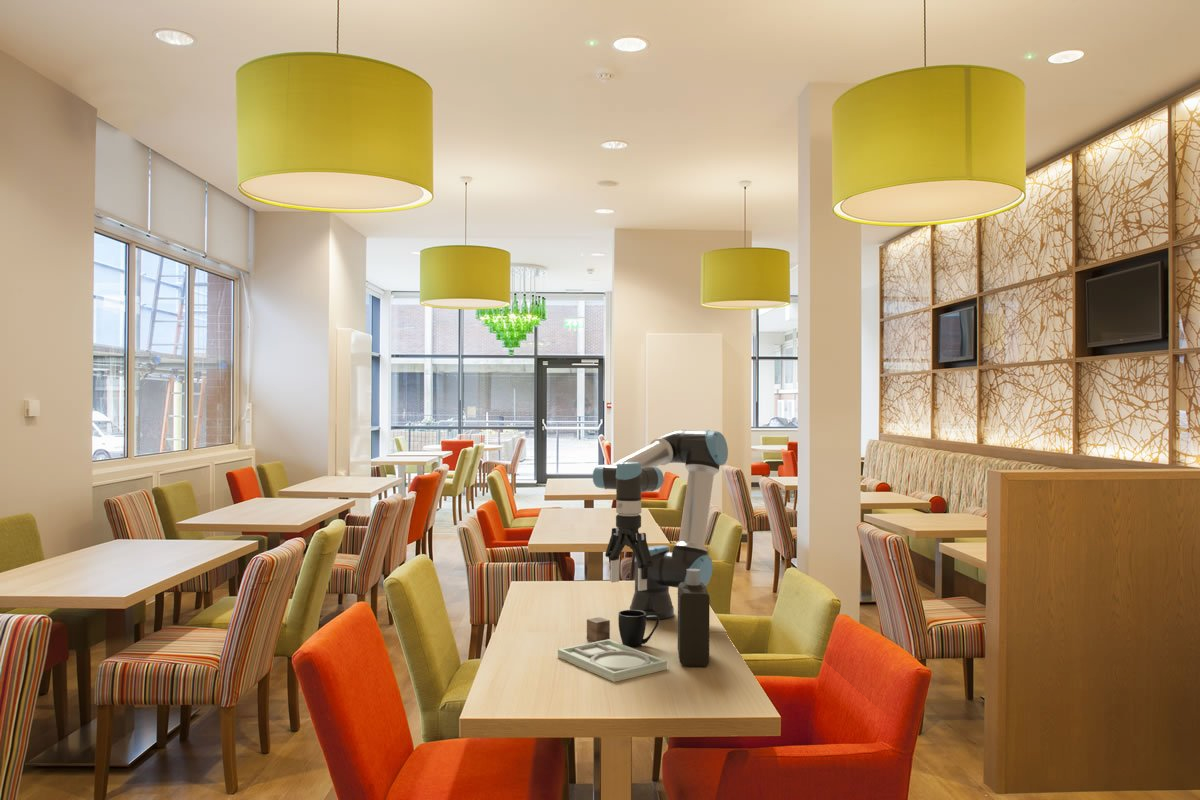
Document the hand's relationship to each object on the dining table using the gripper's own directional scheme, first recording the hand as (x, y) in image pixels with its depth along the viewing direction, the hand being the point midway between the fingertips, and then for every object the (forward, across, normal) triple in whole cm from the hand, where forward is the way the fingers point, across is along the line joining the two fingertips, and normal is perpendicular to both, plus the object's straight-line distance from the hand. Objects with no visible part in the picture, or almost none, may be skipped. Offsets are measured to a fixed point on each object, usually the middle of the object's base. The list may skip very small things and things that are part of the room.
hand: (628, 586), depth 244 cm
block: (+18, -10, -4) cm, 21 cm away
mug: (+18, +2, +3) cm, 18 cm away
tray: (+18, +11, -14) cm, 25 cm away
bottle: (+18, +21, +7) cm, 28 cm away
